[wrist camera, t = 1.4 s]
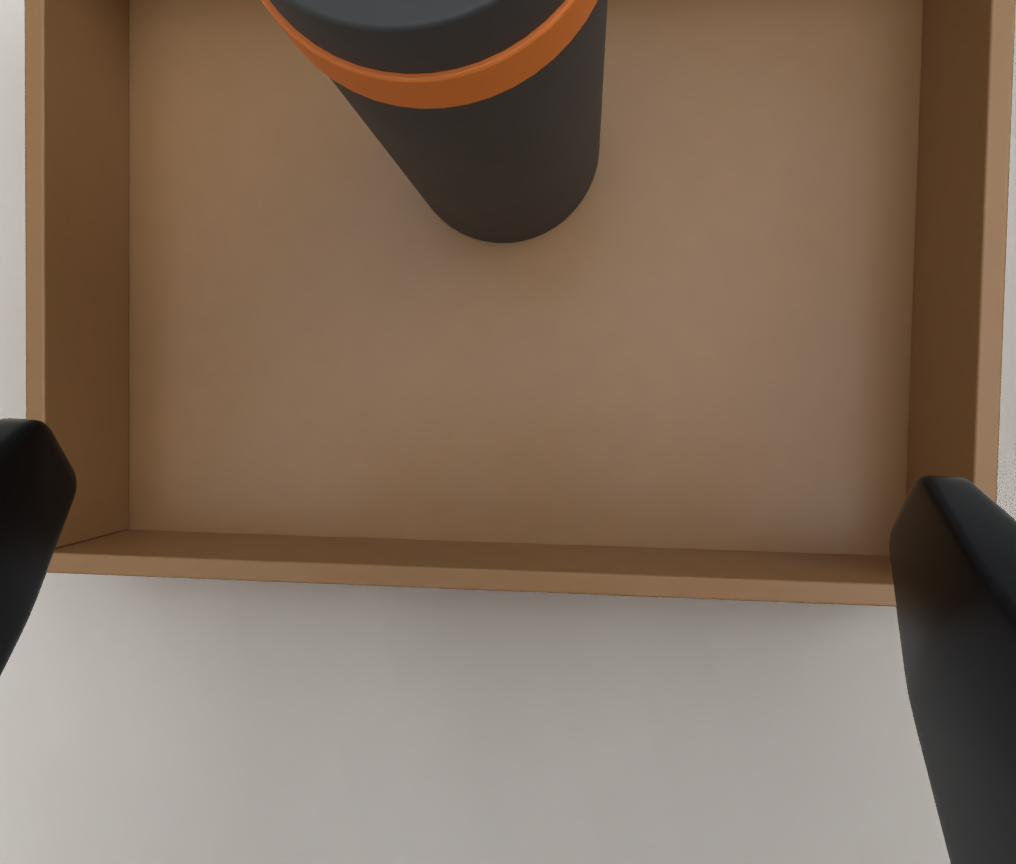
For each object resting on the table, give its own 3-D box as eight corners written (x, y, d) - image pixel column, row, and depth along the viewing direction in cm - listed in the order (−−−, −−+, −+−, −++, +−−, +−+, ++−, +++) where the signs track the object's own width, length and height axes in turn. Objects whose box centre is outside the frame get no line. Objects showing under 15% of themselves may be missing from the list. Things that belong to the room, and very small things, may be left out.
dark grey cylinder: (547, 280, 21) (497, 114, 9) (375, 195, 21) (110, -73, 9) (638, 100, 21) (711, -324, 9) (462, 17, 21) (299, -498, 9)
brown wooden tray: (918, 573, 21) (992, 611, 17) (118, 544, 23) (25, 572, 19) (940, -53, 20) (1023, -160, 16) (119, -22, 22) (23, -111, 18)
